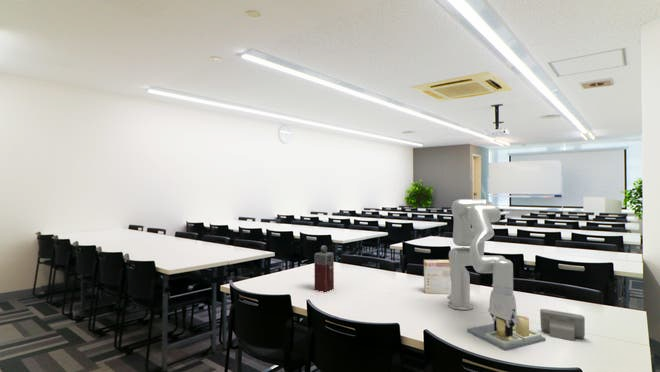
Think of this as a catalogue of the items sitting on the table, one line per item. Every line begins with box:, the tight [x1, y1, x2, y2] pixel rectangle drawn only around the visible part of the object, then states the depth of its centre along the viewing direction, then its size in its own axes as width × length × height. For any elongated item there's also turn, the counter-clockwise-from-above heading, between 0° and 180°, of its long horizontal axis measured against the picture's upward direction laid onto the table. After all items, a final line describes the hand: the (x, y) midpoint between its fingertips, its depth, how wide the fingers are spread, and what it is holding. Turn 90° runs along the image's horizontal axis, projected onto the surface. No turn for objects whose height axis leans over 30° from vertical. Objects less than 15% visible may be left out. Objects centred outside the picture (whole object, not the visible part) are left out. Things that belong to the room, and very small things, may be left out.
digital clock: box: [539, 308, 586, 342], centre depth 151 cm, size 16×9×11 cm, turn 44°
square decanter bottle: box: [313, 245, 335, 293], centre depth 221 cm, size 9×11×28 cm
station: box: [466, 315, 546, 351], centre depth 151 cm, size 20×23×8 cm
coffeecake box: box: [423, 259, 451, 295], centre depth 215 cm, size 15×7×20 cm, turn 84°
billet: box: [496, 317, 510, 338], centre depth 145 cm, size 5×5×7 cm
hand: (503, 332), depth 145 cm, fingers closed on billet, 5 cm apart
